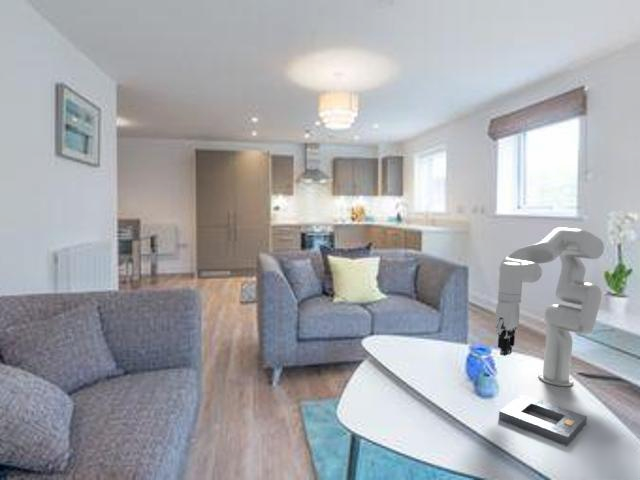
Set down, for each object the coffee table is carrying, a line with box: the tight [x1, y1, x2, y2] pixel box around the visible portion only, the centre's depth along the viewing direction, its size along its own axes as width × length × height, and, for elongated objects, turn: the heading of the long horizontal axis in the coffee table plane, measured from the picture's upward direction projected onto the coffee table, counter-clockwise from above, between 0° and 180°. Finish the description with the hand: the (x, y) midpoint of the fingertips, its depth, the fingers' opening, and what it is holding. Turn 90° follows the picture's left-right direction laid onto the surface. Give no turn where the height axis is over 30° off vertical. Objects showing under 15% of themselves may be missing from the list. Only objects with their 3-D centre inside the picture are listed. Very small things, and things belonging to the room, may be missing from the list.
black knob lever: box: [499, 327, 516, 357], centre depth 157 cm, size 7×5×10 cm
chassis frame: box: [498, 393, 588, 447], centre depth 146 cm, size 19×21×3 cm
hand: (505, 346), depth 157 cm, fingers closed on black knob lever, 4 cm apart
